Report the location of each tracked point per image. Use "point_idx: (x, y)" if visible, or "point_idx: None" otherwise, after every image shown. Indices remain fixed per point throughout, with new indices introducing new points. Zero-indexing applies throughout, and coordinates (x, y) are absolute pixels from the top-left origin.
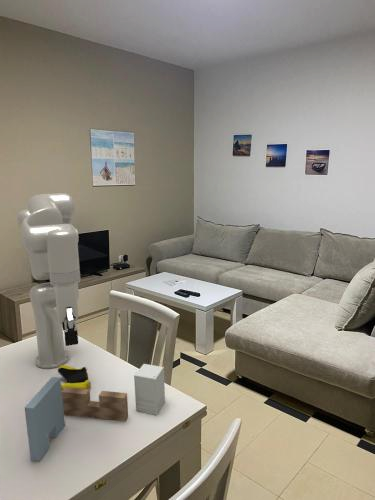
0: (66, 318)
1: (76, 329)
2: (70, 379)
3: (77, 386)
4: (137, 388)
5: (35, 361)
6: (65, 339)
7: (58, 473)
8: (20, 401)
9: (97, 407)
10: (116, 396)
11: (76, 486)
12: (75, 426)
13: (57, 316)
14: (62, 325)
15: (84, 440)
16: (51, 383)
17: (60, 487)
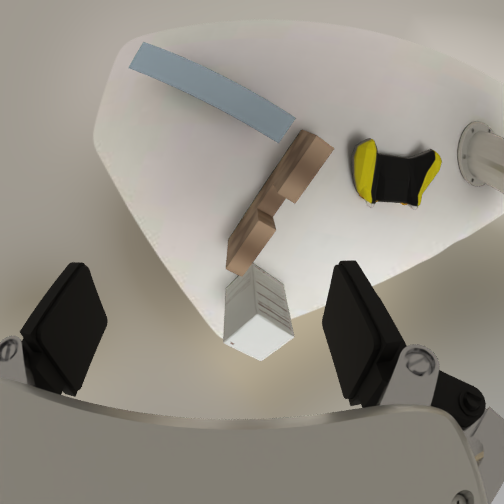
0: (359, 362)
1: (68, 392)
2: (401, 166)
3: (361, 175)
4: (249, 297)
5: (483, 123)
6: (50, 290)
7: (135, 115)
8: (383, 60)
9: (259, 203)
10: (238, 255)
11: (103, 146)
12: (251, 148)
13: (76, 441)
14: (366, 279)
15: (201, 161)
16: (251, 111)
17: (108, 122)
